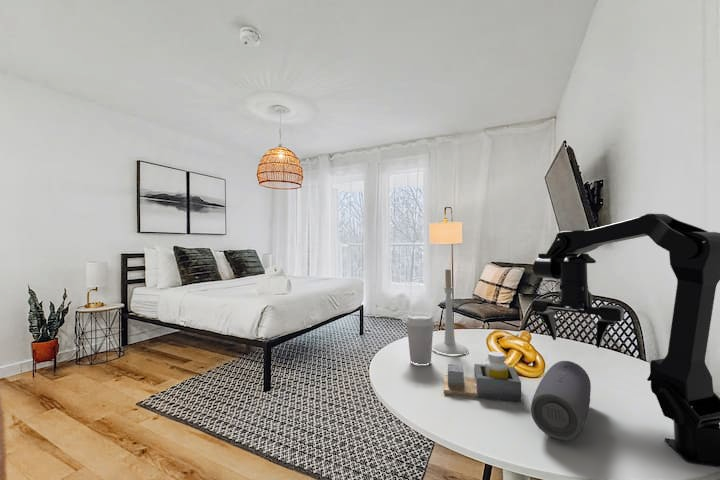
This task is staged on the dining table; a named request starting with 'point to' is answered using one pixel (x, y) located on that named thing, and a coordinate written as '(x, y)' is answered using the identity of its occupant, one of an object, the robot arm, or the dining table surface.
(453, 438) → the dining table surface
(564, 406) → the bluetooth speaker
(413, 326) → the coffee cup
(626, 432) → the dining table surface
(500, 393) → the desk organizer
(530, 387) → the dining table surface
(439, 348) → the candlestick
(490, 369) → the supplement bottle
